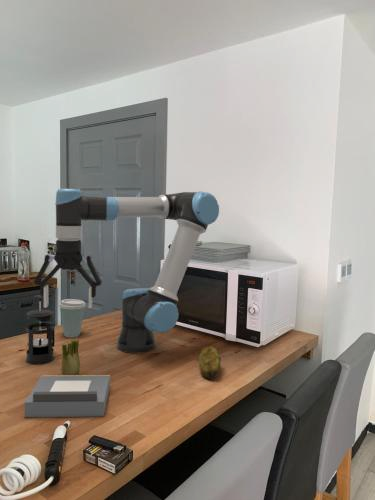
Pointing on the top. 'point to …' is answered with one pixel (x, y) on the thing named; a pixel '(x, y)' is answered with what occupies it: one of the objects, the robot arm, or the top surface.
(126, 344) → the robot arm
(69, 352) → the fennel bulb
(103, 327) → the top surface
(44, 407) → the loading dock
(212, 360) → the olive green oval lump
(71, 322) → the disposable coffee cup
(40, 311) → the french press
